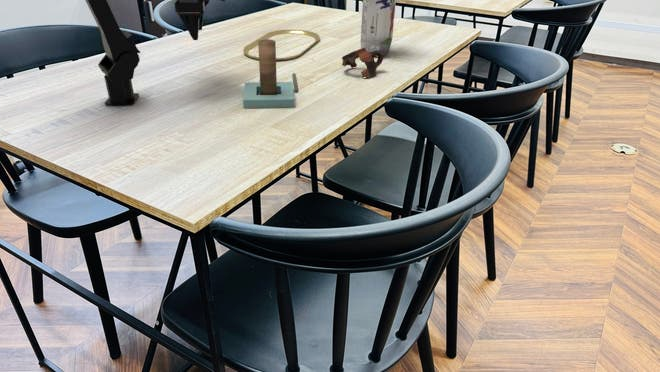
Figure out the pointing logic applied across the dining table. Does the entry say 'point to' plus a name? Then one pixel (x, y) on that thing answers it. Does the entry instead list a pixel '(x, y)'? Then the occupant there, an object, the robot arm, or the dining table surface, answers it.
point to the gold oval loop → (279, 32)
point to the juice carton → (377, 25)
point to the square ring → (268, 96)
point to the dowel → (267, 67)
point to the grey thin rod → (295, 82)
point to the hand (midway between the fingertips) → (197, 34)
